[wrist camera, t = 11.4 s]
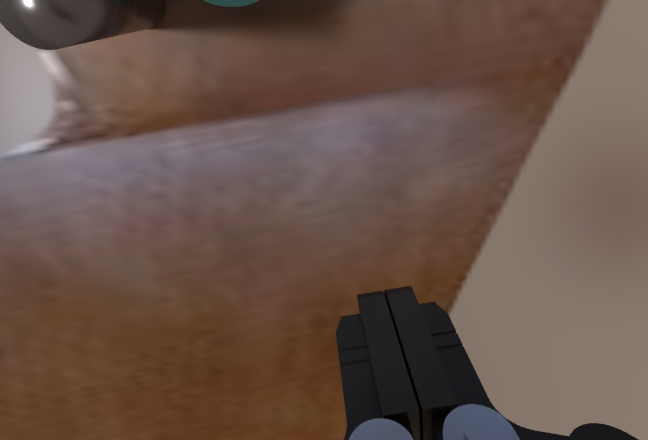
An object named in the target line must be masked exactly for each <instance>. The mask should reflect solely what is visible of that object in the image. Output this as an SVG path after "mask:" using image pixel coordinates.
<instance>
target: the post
mask: <svg viewBox="0 0 648 440" xmlns="http://www.w3.org/2000/svg"><path fill="white" fill-rule="evenodd" d="M164 12H165V0H0V22H1V23H2V25H4V27H5V28H6V29H7V30H8V31H9V32H10V33H11V34H12V35H14V36H15V37H16V38H18V39H19V40H20V41H22V42H24V43H26V44H28V45H30V46H32V47H35V48H39V49H45V50H54V49H60V48H64V47H69V46H73V45H78V44H82V43H87V42H91V41H96V40H100V39H105V38H109V37H114V36H118V35H123V34H127V33H132V32H136V31H141V30H145V29H149V28H152V27H154V26H156V25H157V24H158V23H159V22H160V21H161V20H162V18H163V16H164Z"/></svg>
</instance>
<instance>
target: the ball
mask: <svg viewBox="0 0 648 440" xmlns="http://www.w3.org/2000/svg"><path fill="white" fill-rule="evenodd" d="M204 1H206V2H208V3H211V4H215V5H218V6H225V7H239V6H246V5H249V4H252V3H255V2H257V1H259V0H204Z"/></svg>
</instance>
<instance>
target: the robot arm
mask: <svg viewBox="0 0 648 440" xmlns="http://www.w3.org/2000/svg"><path fill="white" fill-rule="evenodd" d="M357 298H358V306H359V313H360V314H355V315H349V316H343V317H341V320H340V323H339V325H338V328H337V331H336V337H337V345H338V353H339V361H340V369H341V378H342V386H343V394H344V402H345V410H346V418H347V430H346V435H345V438H344V440H638V439H636V438H635V437H633V436H631V435H629V434H628V433H626V432H624V431H622V430H620V429H617V428H614V427H612V426H609V425H605V424H597V423H589V424H584V425H581V426H579V427H577V428H576V429H574V430H573V432H572V433H571V434H570V436H564V435H558V434H551V433H545V432H540V431H534V430H530V429H526V428H524V427H521V426H519V425H516V424H515V423H513V422H511V421H509V420H508V419H506V418H505V417H504V416H502V415H501V414H500V413H499V412H498V411H497V410H496V409H495V407H494V406H493V405H492V404H491V402H490V400H489V399H488V396H487V394H486V392H485V390H484V388H483V386H482V384H481V382H480V380H479V378H478V376H477V374H476V371H475V369H474V368H473V365H472V363H471V361H470V359H469V357H468V355H467V353H466V351H465V349H464V347H463V346H462V343H461V340H460V339H459V336H458V334H457V333H456V330H455V328H454V326H453V324H452V322H451V320H450V317H449V315H448V314H447V313H446V312H445V311H444V310H443V309H441V308H440V307H439V306H438V305H437V304H436V303H435V302H429V303H423V304H418V302H417V299H416V297H415V294H414V292H413V289H412V287H411V286H407V287H401V288H395V289H389V290H384V292H383V291H377V292H371V293H365V294H358V295H357Z"/></svg>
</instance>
